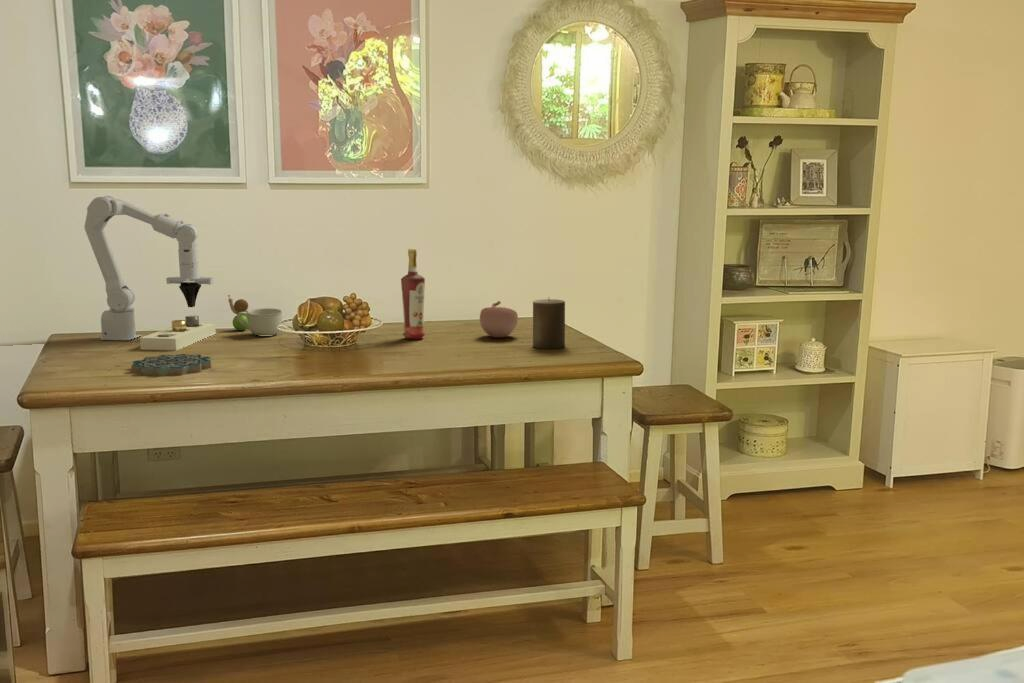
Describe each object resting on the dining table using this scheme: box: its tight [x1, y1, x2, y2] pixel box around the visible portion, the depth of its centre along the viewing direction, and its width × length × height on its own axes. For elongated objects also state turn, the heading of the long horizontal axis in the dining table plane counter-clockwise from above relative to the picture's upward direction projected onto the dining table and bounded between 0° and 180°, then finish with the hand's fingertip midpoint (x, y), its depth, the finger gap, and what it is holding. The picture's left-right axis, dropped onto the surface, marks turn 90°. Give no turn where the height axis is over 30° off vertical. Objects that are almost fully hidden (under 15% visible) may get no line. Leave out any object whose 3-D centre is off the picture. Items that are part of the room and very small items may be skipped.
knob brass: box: [171, 319, 186, 332], centre depth 294 cm, size 4×4×3 cm
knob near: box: [158, 334, 172, 337], centre depth 286 cm, size 4×4×3 cm
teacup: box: [237, 307, 283, 336], centre depth 306 cm, size 14×11×8 cm
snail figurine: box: [227, 294, 249, 331], centre depth 314 cm, size 5×6×12 cm
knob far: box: [184, 315, 200, 327], centre depth 303 cm, size 4×4×3 cm
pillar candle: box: [532, 296, 566, 350], centre depth 287 cm, size 10×10×15 cm
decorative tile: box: [131, 353, 212, 377], centre depth 257 cm, size 20×20×2 cm
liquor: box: [400, 248, 426, 341], centre depth 298 cm, size 7×7×28 cm
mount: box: [139, 323, 217, 351], centre depth 295 cm, size 11×27×4 cm, turn 173°
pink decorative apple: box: [479, 300, 519, 339], centre depth 302 cm, size 12×12×11 cm
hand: (191, 306), depth 302 cm, fingers closed
